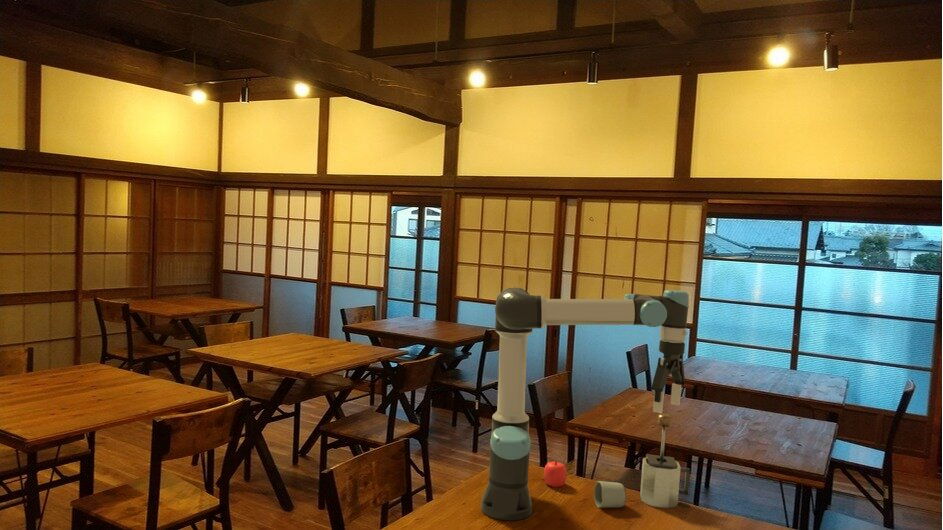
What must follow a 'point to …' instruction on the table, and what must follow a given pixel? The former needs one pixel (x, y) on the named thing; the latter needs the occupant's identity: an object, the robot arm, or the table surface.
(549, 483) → the apple
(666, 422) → the plunger
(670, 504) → the carafe
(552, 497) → the table surface
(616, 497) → the ceramic mug
